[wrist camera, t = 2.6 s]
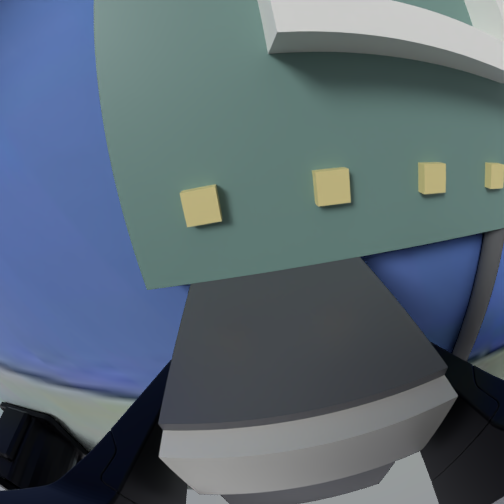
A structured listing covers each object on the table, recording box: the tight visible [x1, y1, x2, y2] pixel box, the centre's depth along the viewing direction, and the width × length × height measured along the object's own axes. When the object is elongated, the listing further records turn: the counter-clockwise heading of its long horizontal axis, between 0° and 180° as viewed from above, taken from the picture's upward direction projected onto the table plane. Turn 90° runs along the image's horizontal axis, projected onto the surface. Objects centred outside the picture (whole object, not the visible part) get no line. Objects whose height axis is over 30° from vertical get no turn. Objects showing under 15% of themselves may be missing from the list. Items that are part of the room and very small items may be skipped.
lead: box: [452, 228, 504, 361], centre depth 9 cm, size 12×1×1 cm, turn 8°
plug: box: [158, 257, 458, 504], centre depth 7 cm, size 6×4×6 cm
